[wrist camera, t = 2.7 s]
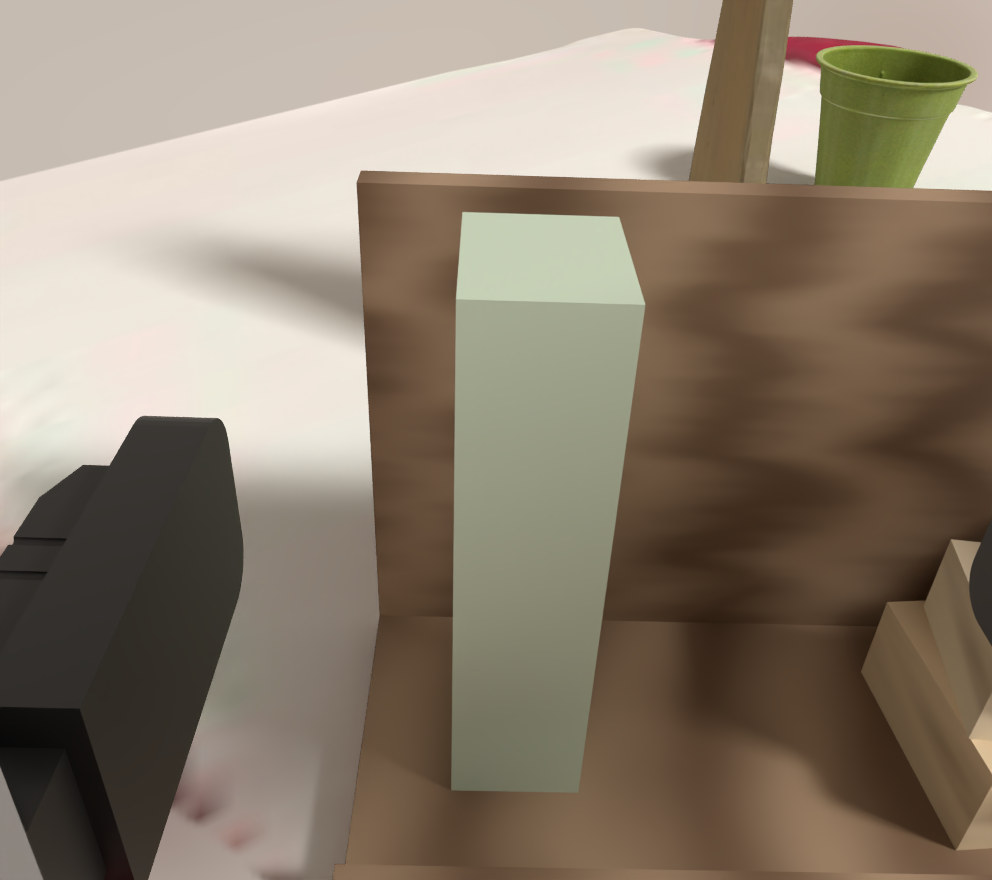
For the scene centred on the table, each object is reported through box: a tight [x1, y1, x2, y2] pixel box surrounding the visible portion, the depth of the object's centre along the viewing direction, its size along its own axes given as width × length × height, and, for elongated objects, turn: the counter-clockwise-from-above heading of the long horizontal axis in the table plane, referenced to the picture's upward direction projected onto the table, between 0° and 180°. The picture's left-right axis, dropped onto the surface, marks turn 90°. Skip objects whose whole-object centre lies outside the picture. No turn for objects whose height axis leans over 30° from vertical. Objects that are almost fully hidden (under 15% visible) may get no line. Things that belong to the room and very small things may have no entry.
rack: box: [333, 171, 992, 880], centre depth 27 cm, size 24×13×18 cm, turn 90°
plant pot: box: [815, 46, 978, 188], centre depth 75 cm, size 12×12×11 cm
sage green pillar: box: [451, 212, 645, 793], centre depth 26 cm, size 4×5×17 cm
